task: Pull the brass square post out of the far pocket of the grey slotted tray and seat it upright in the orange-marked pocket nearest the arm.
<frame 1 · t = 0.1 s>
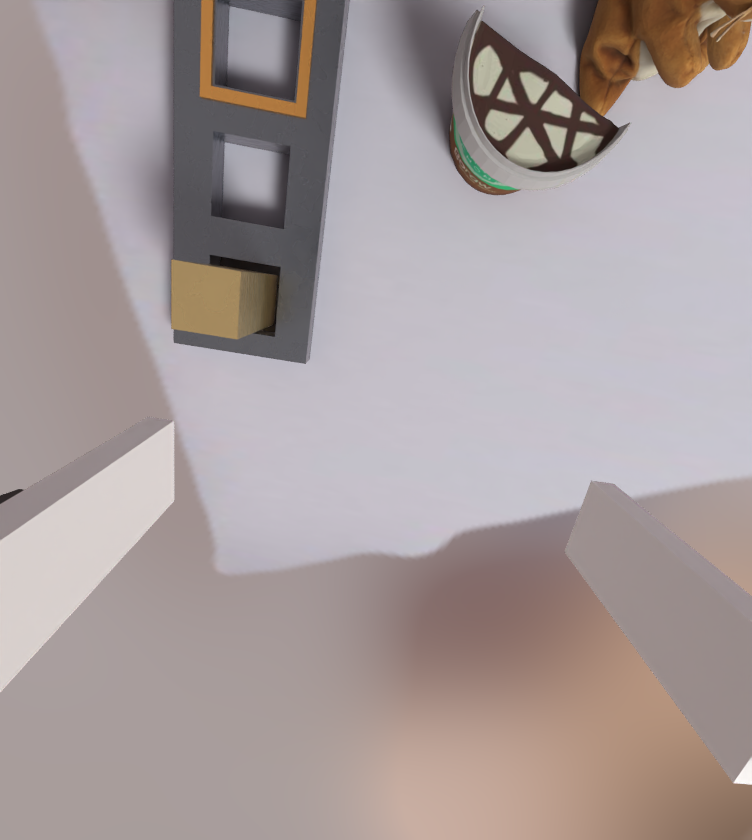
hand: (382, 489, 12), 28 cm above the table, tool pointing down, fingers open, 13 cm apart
food container: (484, 166, 34), on the table
brass post: (251, 296, 37), resting in grey slotted tray
grey slotted tray: (258, 188, 34), on the table
stuffed squirrel: (633, 15, 31), on the table
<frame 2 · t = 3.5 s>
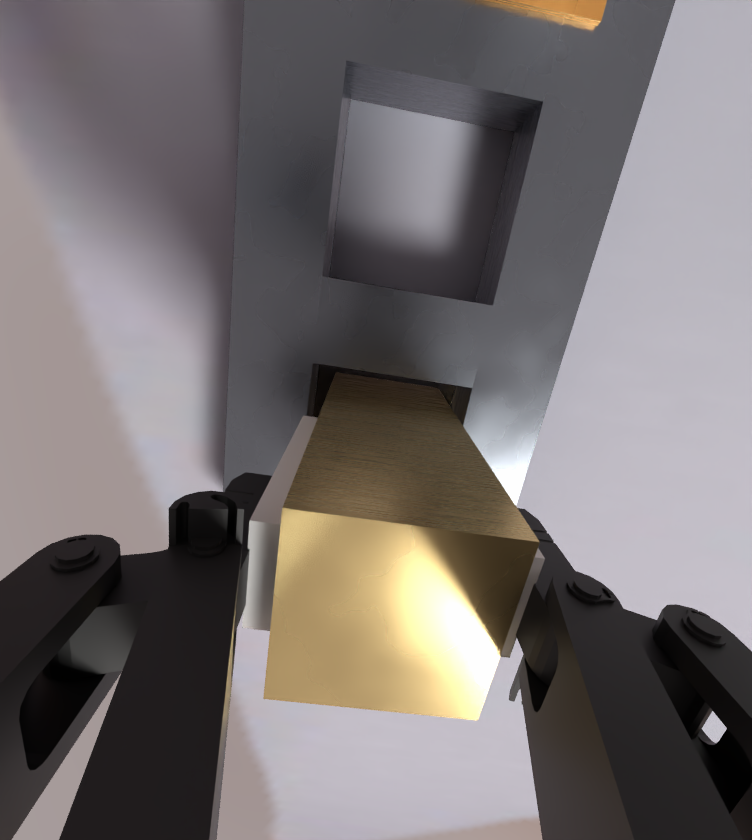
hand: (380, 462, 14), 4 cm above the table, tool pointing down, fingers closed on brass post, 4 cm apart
brass post: (378, 427, 18), resting in grey slotted tray, touching gripper
grey slotted tray: (417, 208, 15), on the table
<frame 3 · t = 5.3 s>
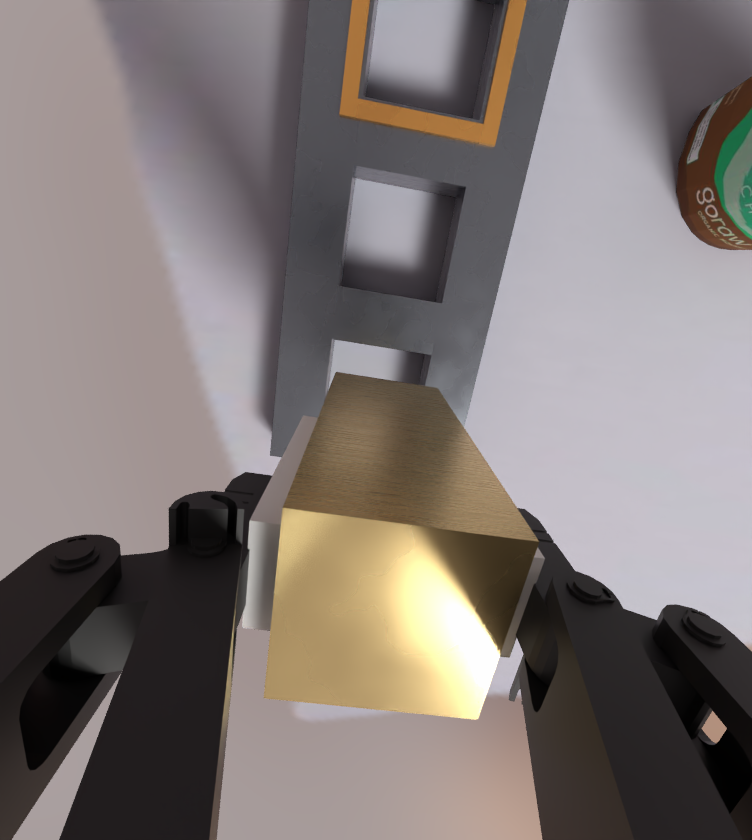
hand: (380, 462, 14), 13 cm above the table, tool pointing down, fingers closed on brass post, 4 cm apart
food container: (719, 210, 24), on the table
brass post: (378, 427, 18), point 9 cm above the table, touching gripper
grey slotted tray: (397, 243, 24), on the table
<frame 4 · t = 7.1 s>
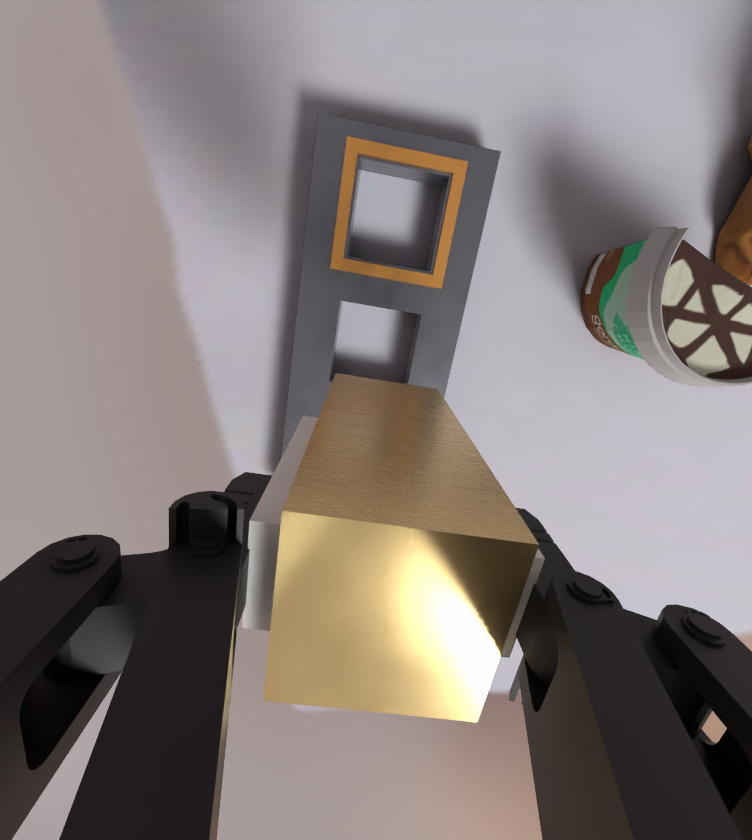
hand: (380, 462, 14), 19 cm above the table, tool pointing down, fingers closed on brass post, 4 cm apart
food container: (614, 322, 32), on the table
brass post: (378, 428, 18), point 15 cm above the table, touching gripper
grey slotted tray: (373, 344, 32), on the table
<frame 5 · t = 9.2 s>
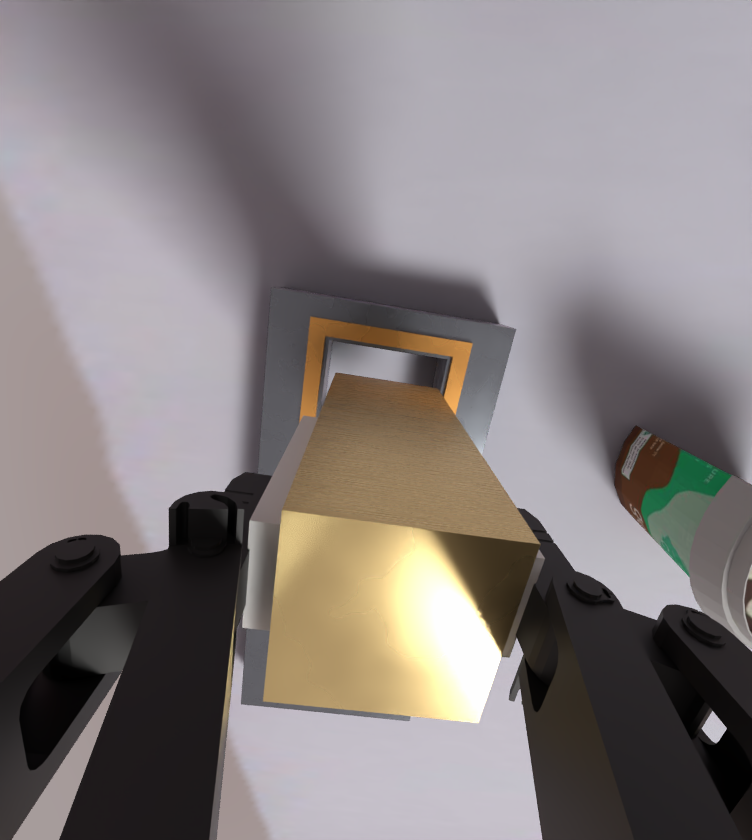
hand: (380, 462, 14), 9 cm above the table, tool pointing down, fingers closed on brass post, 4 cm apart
food container: (655, 496, 26), on the table
brass post: (378, 428, 18), point 5 cm above the table, touching gripper
grey slotted tray: (356, 525, 26), on the table
when the fingers open (5 cm above the table, at t = 10.8 s): brass post drops 1 cm, resting in grey slotted tray.
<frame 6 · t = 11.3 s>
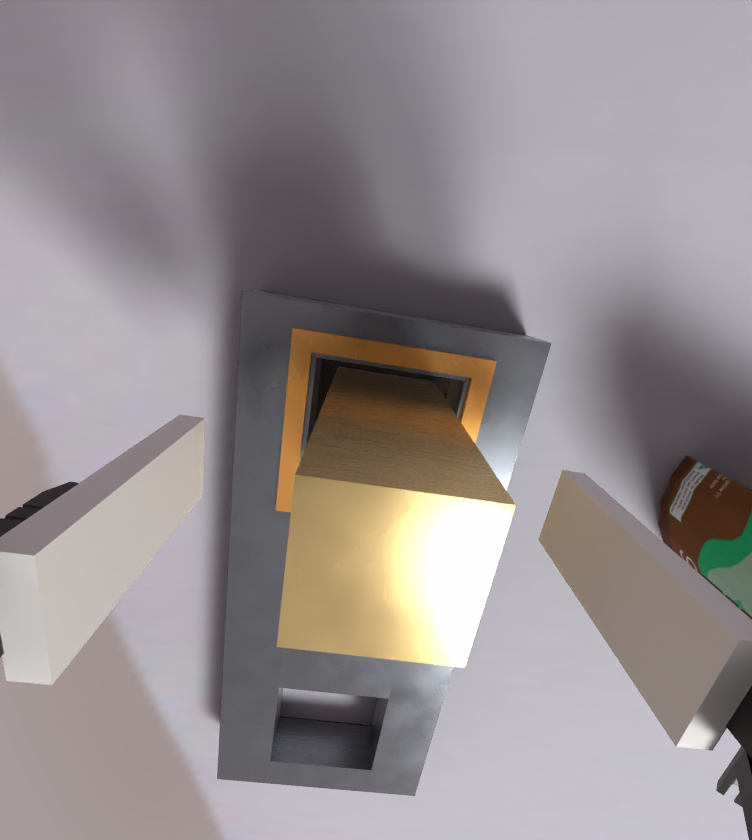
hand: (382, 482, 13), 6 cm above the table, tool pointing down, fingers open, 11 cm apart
food container: (706, 536, 22), on the table
brass post: (378, 419, 19), resting in grey slotted tray
grey slotted tray: (351, 571, 22), on the table
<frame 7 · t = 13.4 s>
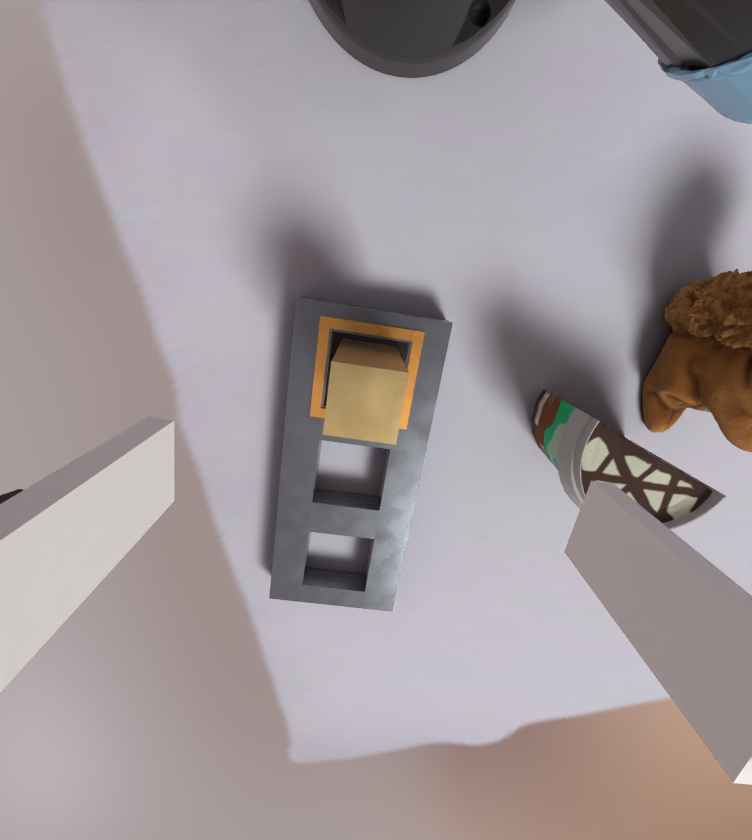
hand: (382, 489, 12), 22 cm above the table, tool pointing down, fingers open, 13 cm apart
food container: (563, 441, 36), on the table
brass post: (365, 368, 34), resting in grey slotted tray
grey slotted tray: (351, 464, 36), on the table
stuffed squirrel: (691, 346, 34), on the table
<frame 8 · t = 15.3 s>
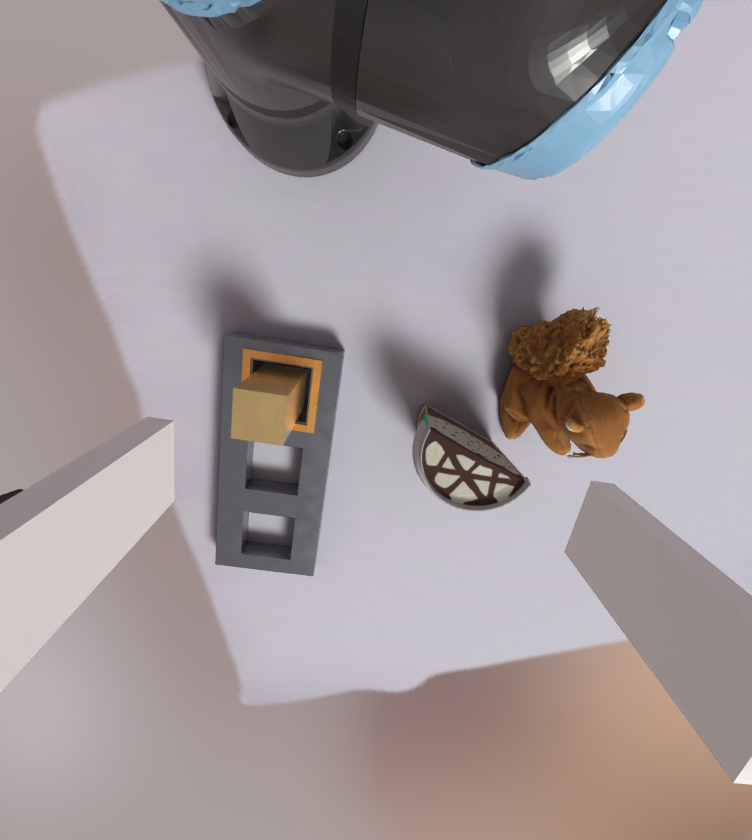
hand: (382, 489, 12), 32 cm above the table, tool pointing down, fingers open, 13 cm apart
food container: (443, 443, 46), on the table
brass post: (285, 386, 44), resting in grey slotted tray
grey slotted tray: (278, 459, 47), on the table
stuffed squirrel: (535, 373, 44), on the table
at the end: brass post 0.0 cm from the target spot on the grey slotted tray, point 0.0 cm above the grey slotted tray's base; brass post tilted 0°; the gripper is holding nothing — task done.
